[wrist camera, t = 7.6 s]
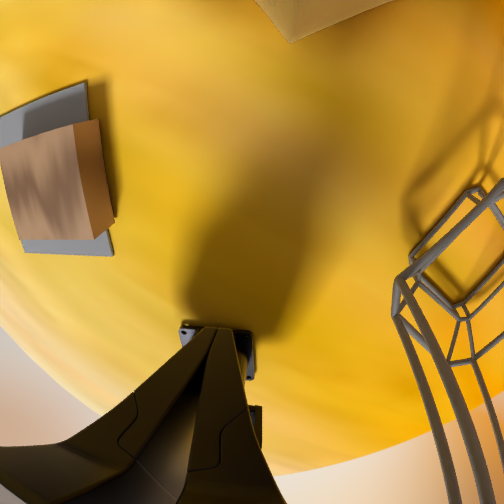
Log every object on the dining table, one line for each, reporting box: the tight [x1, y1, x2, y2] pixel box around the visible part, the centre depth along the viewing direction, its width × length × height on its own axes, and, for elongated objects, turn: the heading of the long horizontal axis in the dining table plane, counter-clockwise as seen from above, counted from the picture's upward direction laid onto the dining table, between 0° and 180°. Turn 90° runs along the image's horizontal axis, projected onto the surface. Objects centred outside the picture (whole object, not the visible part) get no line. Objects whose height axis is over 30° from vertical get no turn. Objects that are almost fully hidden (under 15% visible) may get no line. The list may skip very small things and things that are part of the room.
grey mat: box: [0, 83, 114, 257], centre depth 20 cm, size 14×12×1 cm
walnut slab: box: [0, 119, 115, 240], centre depth 19 cm, size 8×3×9 cm
